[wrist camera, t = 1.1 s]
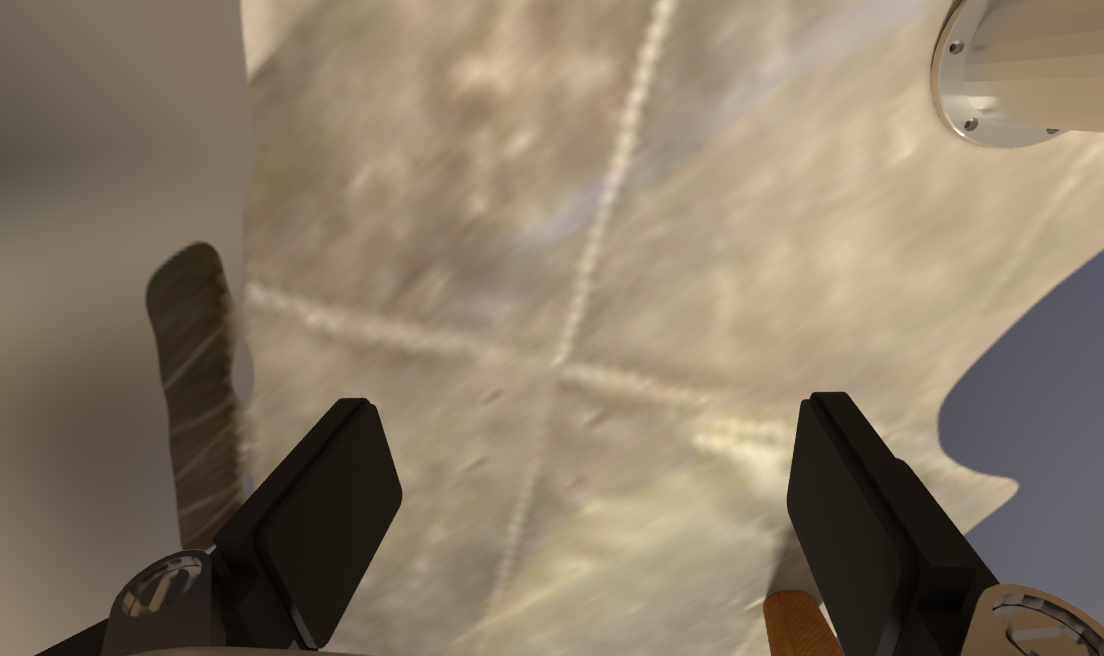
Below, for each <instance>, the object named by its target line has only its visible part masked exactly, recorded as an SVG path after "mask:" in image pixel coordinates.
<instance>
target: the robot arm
mask: <svg viewBox="0 0 1104 656" xmlns="http://www.w3.org/2000/svg"><path fill="white" fill-rule="evenodd" d="M950 46H952V49H951V50H950ZM931 93H932V98H933V103H934V107H935V109H936V111H937V113H938V115H939V117H940V119H941V121H942V122H943V123H944V125H945V126H946V127H947V128H948V129H949V130H950V132H952V133H953V134H955V135H956V136H958V137H959V138H960V139H962V140H964V141H966V142H969V143H972V144H974V145H977V146H983V147H989V148H1001V149H1013V148H1020V147H1027V146H1032V145H1035V144H1038V143H1041V142H1045V141H1048V140H1051V139H1053V138H1055V137H1057V136H1059V135H1061V134H1063V133H1065V132H1068V131H1069V130H1074V131H1087V132H1100V133H1104V0H962V2H961V3H960V4H959V6H958V7H957V8H956V10H955V11H954V12H953V14H952V16H951V18H950V19H949V21H948V23H947V25H946V27H945V29H944V30H943V32H942V35H941V37H940V40H939V43H938V45H937V48H936V51H935V54H934V59H933V64H932V69H931ZM965 123H966V125H965ZM401 502H402V488H401V485H400V482H399V478H398V475H397V472H396V469H395V466H394V462H393V459H392V456H391V453H390V449H389V446H388V443H387V440H386V436H385V433H384V430H383V427H382V423H381V420H380V417H379V414H378V411H377V408H376V406H375V405H373V404H370V402H369V401H368V400H367V399H366V398H342V399H339V400H338V401H337V402H336V403H335V404H334V405H333V406H332V407H331V408H330V409H329V410H328V412H327V413H326V414H325V415H324V416H323V417H322V418H321V419H320V420H319V421H318V423H317V424H316V425H315V426H314V427H313V428H312V429H311V430H310V431H309V432H308V434H307V435H306V436H305V437H304V438H303V439H302V440H301V441H300V442H299V443H298V445H297V446H296V447H295V448H294V449H293V450H292V451H291V452H290V453H289V454H288V456H287V457H286V458H285V459H284V460H283V461H282V462H281V463H280V464H279V465H278V467H277V468H276V469H275V470H274V471H273V472H272V473H271V474H270V475H269V476H268V478H267V479H266V480H265V481H264V482H263V483H262V484H261V485H260V486H259V487H258V489H257V490H256V491H255V492H254V493H253V494H252V495H251V496H250V497H249V498H248V500H247V501H246V502H245V503H244V504H243V505H242V506H241V507H240V508H239V509H238V511H237V512H236V513H235V514H234V515H233V516H232V517H231V518H230V519H229V520H228V522H227V523H226V524H225V525H224V526H223V527H222V528H221V529H220V530H219V531H218V533H217V534H216V535H215V536H214V537H213V538H212V539H213V541H214V543H215V544H216V546H217V547H216V548H215V549H214V550H213V551H212V552H211V554H210V555H209V554H207V553H206V552H205V551H203V550H196V549H191V550H184V551H179V552H177V553H174V554H171V555H168V556H166V557H164V558H162V559H160V560H158V561H156V562H154V563H152V564H151V565H149V566H148V567H147V568H145V569H144V570H142V571H141V572H139V573H138V574H137V575H136V576H135V577H133V578H132V579H131V580H130V581H129V582H128V583H127V584H126V585H125V586H124V587H123V589H122V590H121V591H120V593H119V594H118V595H117V596H116V598H115V600H114V602H113V605H112V607H111V610H110V614H109V618H107V619H105V620H103V621H101V622H99V623H97V624H96V625H94V626H91V627H89V628H87V629H86V630H84V631H82V632H80V633H78V634H76V635H74V636H72V637H70V638H68V639H66V640H65V641H62V642H60V643H58V644H56V645H54V646H53V647H51V648H48V649H47V650H45V651H43V652H41V653H39V654H37V655H35V656H377V655H363V654H348V653H334V652H320V651H318V649H319V648H320V649H321V648H323V647H324V646H325V645H326V644H327V643H328V642H329V640H330V638H331V636H332V634H333V633H334V631H335V629H336V627H337V625H338V623H339V621H340V619H341V617H342V615H343V614H344V612H345V610H346V608H347V606H348V604H349V602H350V600H351V598H352V596H353V595H354V593H355V591H356V589H357V587H358V585H359V583H360V581H361V579H362V578H363V576H364V574H365V572H366V570H367V568H368V566H369V564H370V562H371V560H372V559H373V557H374V555H375V553H376V551H377V549H378V547H379V545H380V543H381V541H382V540H383V538H384V536H385V534H386V532H387V530H388V528H389V526H390V524H391V522H392V521H393V519H394V517H395V515H396V513H397V511H398V509H399V507H400V505H401ZM787 509H788V513H789V516H790V519H791V521H792V524H793V526H794V529H795V531H796V534H797V536H798V539H799V541H800V544H801V546H802V549H803V551H804V554H805V556H806V559H807V561H808V564H809V566H810V569H811V571H812V574H813V576H814V579H815V581H816V584H817V586H818V589H819V591H820V594H821V596H822V599H823V601H824V604H825V606H826V609H827V611H828V614H829V616H830V619H831V621H832V624H833V626H834V629H835V631H836V634H837V636H838V639H839V641H840V644H841V646H842V649H843V651H844V654H845V656H1104V626H1102V625H1101V624H1100V623H1099V622H1097V621H1096V620H1095V619H1093V618H1092V617H1090V616H1089V615H1088V614H1086V613H1085V612H1084V611H1082V610H1081V609H1079V608H1078V607H1076V606H1074V605H1072V604H1070V603H1068V602H1067V601H1065V600H1063V599H1061V598H1059V597H1057V596H1055V595H1052V594H1050V593H1047V592H1044V591H1042V590H1039V589H1036V588H1033V587H1028V586H1023V585H1017V584H1000V583H999V582H998V581H997V579H996V578H995V577H994V575H993V574H992V573H991V571H990V570H989V569H988V567H987V566H986V565H985V564H984V562H983V561H982V560H981V559H980V557H979V556H978V555H977V553H976V552H975V551H974V549H973V548H972V547H971V545H970V544H969V543H968V542H967V541H966V539H965V538H964V536H963V535H962V534H961V532H960V531H959V530H958V529H957V527H956V526H955V525H954V523H953V522H952V521H951V520H950V518H949V517H948V516H947V514H946V513H945V512H944V510H943V509H942V508H941V507H940V505H939V504H938V503H937V501H936V500H935V499H934V498H933V496H932V495H931V494H930V492H929V491H928V490H927V488H926V487H925V486H924V485H923V483H922V482H921V481H920V479H919V478H918V477H917V475H916V474H915V473H914V472H913V470H912V469H911V468H910V467H909V466H908V465H907V464H906V463H905V462H904V461H903V460H901V459H898V458H895V456H894V455H893V454H892V452H891V451H890V450H889V448H888V447H887V446H886V444H885V443H884V442H883V440H882V439H881V438H880V436H879V435H878V434H877V432H876V431H875V430H874V428H873V427H872V426H871V425H870V423H869V422H868V421H867V419H866V418H865V417H864V415H863V414H862V413H861V411H860V410H859V409H858V407H857V406H856V405H855V403H854V402H853V401H852V399H851V398H850V397H849V395H848V394H847V393H845V392H814V393H812V395H811V396H810V399H804V400H802V402H801V405H800V411H799V418H798V425H797V432H796V438H795V445H794V452H793V458H792V465H791V472H790V479H789V485H788V492H787Z"/></svg>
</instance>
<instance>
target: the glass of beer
mask: <svg viewBox="0 0 1104 656" xmlns="http://www.w3.org/2000/svg"><path fill="white" fill-rule="evenodd" d="M763 612H764V617H765V622H766V628H767V634H768V641H769V646H770V652H771V656H845V654H844V651H843V650H842V648H841V646H840V644H839V643H838V641H837V639H836V637H835V635H834V634H833V632H832V630H831V628H830V627H829V625H828V623H827V621H826V619H825V618H824V616H823V614H822V612H821V611H820V609H819V607H818V605H817V603H816V601H815V600H814V599H813V598H812V597H811V596H810V595H808V594H806V593H802V592H798V591H785V592H780V593H777V594H775V595H773V596H771V597H770V598H768V599H767V600H766V602H765V603H764V605H763Z"/></svg>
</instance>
